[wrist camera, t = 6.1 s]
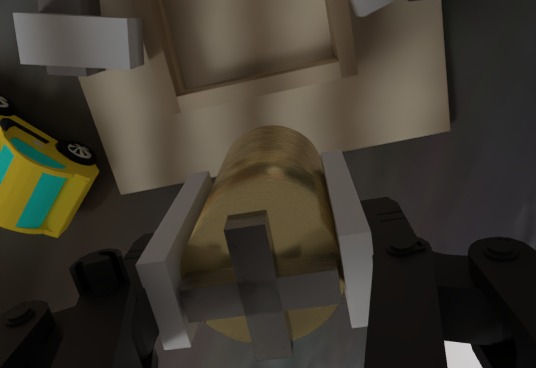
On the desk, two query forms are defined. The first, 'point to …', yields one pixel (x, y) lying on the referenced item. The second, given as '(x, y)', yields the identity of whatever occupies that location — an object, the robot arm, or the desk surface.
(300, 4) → the shaft rig
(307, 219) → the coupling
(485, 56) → the desk surface
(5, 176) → the toy car
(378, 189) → the desk surface
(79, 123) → the desk surface
